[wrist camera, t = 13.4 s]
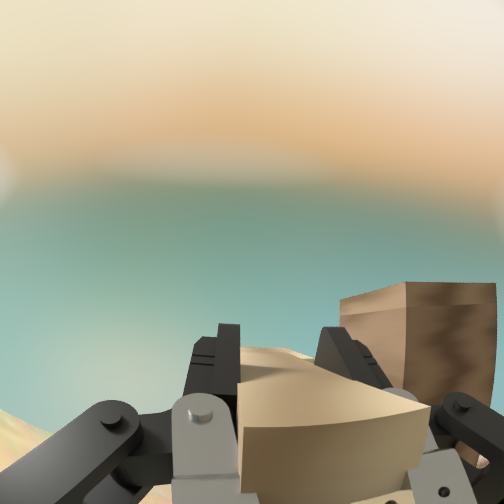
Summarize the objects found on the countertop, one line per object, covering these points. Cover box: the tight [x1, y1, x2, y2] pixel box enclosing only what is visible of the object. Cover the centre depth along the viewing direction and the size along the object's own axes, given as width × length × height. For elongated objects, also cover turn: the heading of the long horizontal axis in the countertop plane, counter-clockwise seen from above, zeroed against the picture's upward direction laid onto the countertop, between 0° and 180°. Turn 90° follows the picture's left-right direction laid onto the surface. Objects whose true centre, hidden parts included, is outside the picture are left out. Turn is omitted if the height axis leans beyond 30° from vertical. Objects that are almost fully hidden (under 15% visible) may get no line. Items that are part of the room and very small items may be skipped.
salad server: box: [235, 347, 431, 504], centre depth 14 cm, size 6×22×2 cm, turn 4°
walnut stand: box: [339, 282, 497, 504], centre depth 19 cm, size 10×12×32 cm
